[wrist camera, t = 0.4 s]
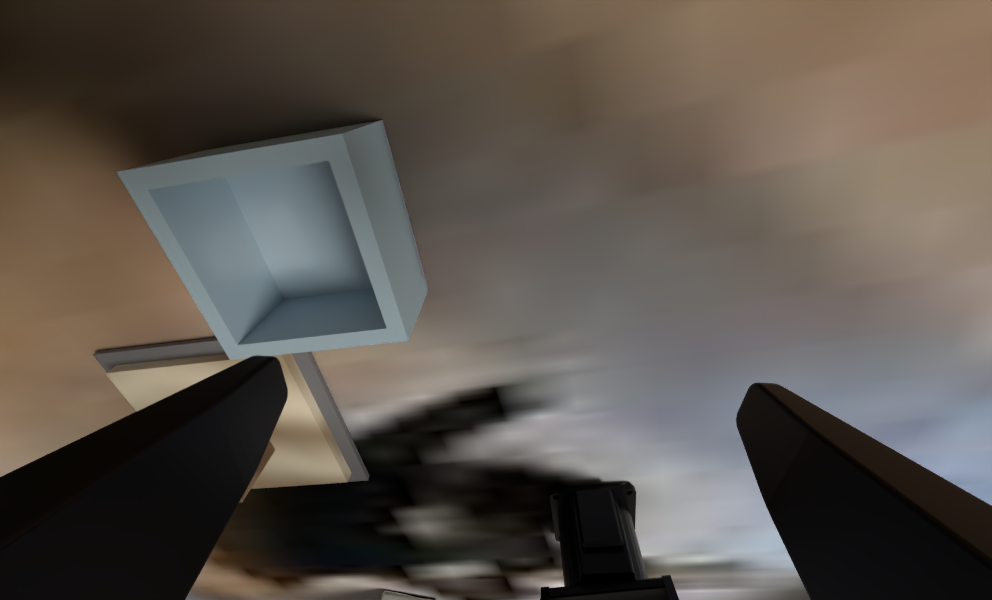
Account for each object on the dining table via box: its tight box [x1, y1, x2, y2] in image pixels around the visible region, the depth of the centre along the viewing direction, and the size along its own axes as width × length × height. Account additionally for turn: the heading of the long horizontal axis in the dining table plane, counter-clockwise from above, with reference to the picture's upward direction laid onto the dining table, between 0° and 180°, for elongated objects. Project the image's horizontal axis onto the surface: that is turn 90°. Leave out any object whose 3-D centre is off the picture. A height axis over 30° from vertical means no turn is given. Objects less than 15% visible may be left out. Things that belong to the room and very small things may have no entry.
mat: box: [93, 337, 369, 482], centre depth 28 cm, size 14×14×1 cm
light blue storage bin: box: [117, 120, 428, 360], centre depth 19 cm, size 9×9×5 cm
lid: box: [105, 353, 351, 503], centre depth 26 cm, size 12×12×5 cm
